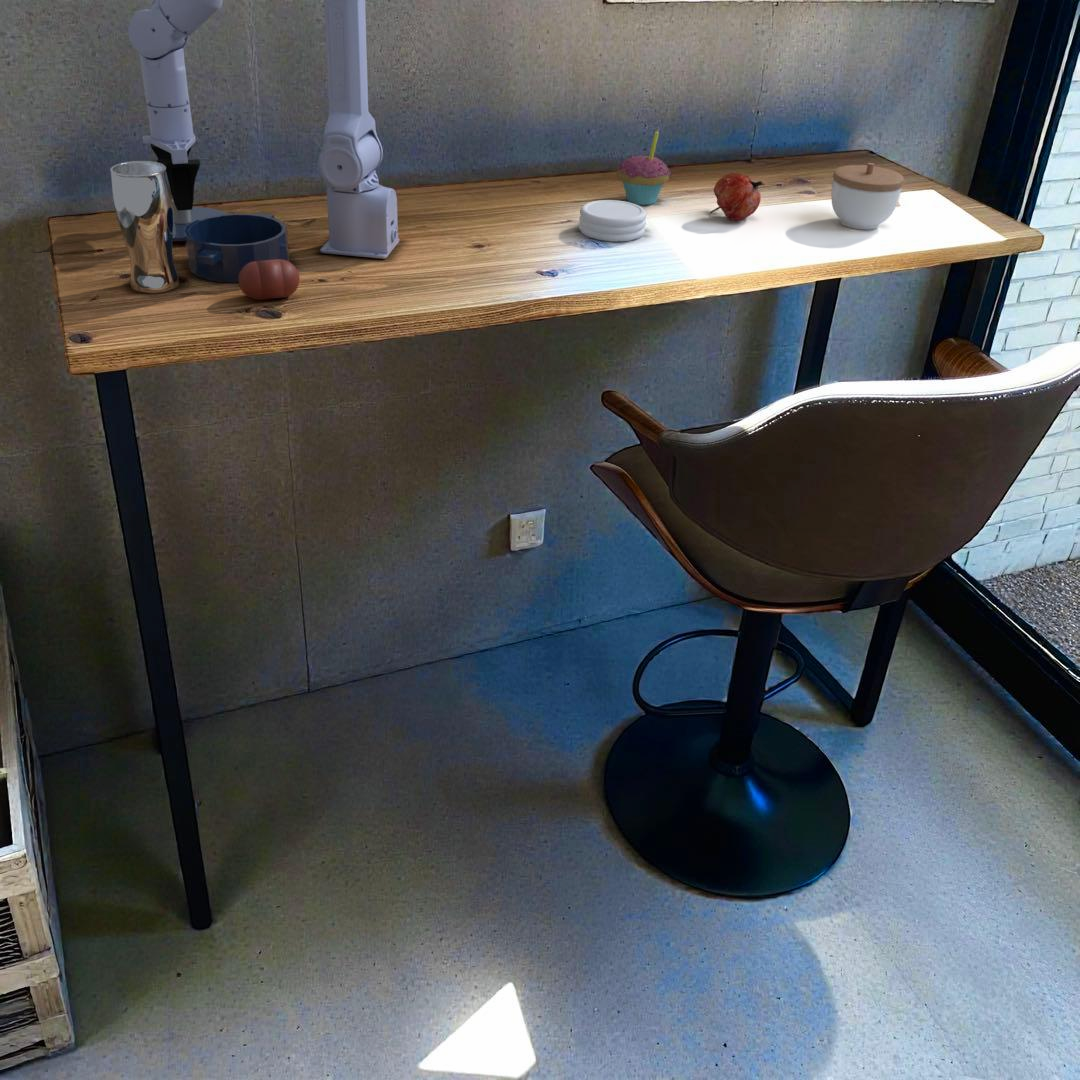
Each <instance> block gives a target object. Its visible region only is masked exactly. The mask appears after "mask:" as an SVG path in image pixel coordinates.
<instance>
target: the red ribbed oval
mask: <svg viewBox="0 0 1080 1080" xmlns="http://www.w3.org/2000/svg"><path fill="white" fill-rule="evenodd" d="M238 280H239V283H238V286H239V287H240V290H241V292H242V293H243V295H245V296H247V297H248V298H249V299H252V300H256V301H263V300H272V299H273V300H274V299H283V298H288V297H290V296H292V295H293V294H294V293H296V291H297V289H298V288H299V285H300V274H299V271H298V269H297V267H296V266H295V265H294V264H293V263H291V262H290V261H289V262H288V261H286V260H282V259H275V260H263V261H254V262H250V263H248V264H246V265H245V266H244V267H243V268H242V270H241V271H240V274H239V279H238Z"/></svg>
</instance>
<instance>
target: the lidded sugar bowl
mask: <svg viewBox="0 0 1080 1080" xmlns="http://www.w3.org/2000/svg"><path fill="white" fill-rule="evenodd" d="M904 182H905V178H904V176H903V175H902V174H900V173H899V172H897V171H895V170H892V169H889V168H885V167H881V166H880V167H879V166H875V163H873V162H868V163H867V164H850V165H849V164H848V165H843V166H839V167H836V168H835V169H834V170H833V174H832V184H831V192H830V193H831V194H830V197H831V198H830V199H831V205H832V210H833V212H834V214H835V215H836V217H837V218H838V219H839V223H840V224H841V225H843V226H844V227H848V228H851V229H856V230H862V231H864V230H866V231H867V230H875V229H878V228H879V227H880V225H881V224H884V222H886V221H887V220H888V219H889V218H890V217H891V216H892V214H893V213H894V211H895V210H896V207H897V205H898V203H899V200H900V196H901V193H902V188H903V186H904Z"/></svg>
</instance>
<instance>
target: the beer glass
mask: <svg viewBox="0 0 1080 1080" xmlns="http://www.w3.org/2000/svg"><path fill="white" fill-rule="evenodd" d="M109 169H110V177H111V179H110V180H111V190H112V191H111V192H112V199H113V200H112V201H113V206H114V212H115V216H116V220H117V223H118V226H119V229H120V233H121V235H122V239H123V242H124V244H125V246H126V250H127V253H128V258H129V263H130V276H129V277H130V279H129V280H130V281H129V283H130V288H131V289H132V290H134V291H135V292H138V293H142V294H161V293H166V292H170V291H173V290H174V289H176V288H178V287H179V285H180V277H179V274H178V271H177V269H176V265H175V261H174V255H173V254H174V253H173V242H174V241H173V203H172V199H173V197H172V195H171V190H170V185H169V180H168V176H167V171H166V166H165V165H163V164H161V163H158V162H157V161H151V160H132V161H125V162H120V163H117V164H115V165H113V166H111V167H110V168H109Z"/></svg>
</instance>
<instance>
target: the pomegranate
mask: <svg viewBox="0 0 1080 1080" xmlns="http://www.w3.org/2000/svg"><path fill="white" fill-rule="evenodd" d="M765 185H766V184H765V183H764V182H763V181H761V180H760V181H755V182H754V180H753V179H752V178H751V177H750V176H749V175H746V174H742V173H740V172H730V173H728V174H724V175H723V176H722V177H720V178H719V179H718V180H717V182H716V183H715V185H714V187H713V194H714V195H715V197H716V204H717V207H716V208H714V209H712V210H711V211H709V214H712V213H714V212H716V211H718V210H721V211H722V212H723V214H724V215H725V217H726V219H728V220H730V221H734V222H739V221H742V220H745V219H746V218H748V217H750V216H751V215H753V214H754V213H755V212H756V211H757V209H758V208H759V206H760V204H761V199H762V197H761V196H762V195H761V193H760V191H759V187H760V186H765Z"/></svg>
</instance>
